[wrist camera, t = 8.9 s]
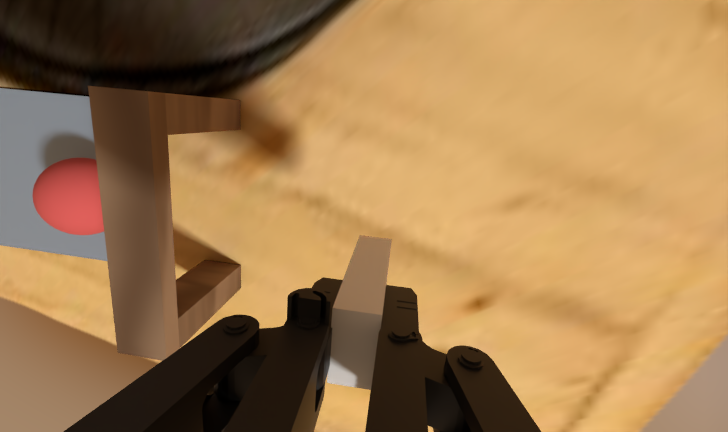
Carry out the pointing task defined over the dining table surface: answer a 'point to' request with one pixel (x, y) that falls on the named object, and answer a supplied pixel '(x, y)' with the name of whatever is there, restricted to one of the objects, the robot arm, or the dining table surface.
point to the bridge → (153, 217)
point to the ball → (70, 196)
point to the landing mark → (41, 166)
